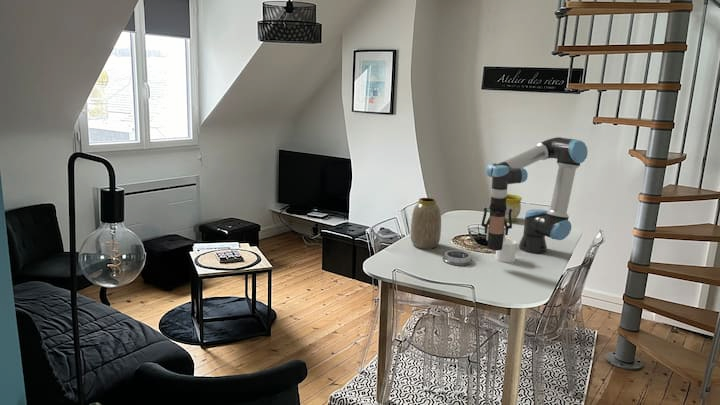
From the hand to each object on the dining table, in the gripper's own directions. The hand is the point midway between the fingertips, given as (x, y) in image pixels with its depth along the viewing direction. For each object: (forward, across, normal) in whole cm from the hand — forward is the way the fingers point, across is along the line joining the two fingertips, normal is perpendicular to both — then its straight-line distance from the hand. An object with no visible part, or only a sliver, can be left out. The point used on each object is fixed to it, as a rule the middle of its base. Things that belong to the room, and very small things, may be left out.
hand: (495, 240), depth 267 cm
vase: (+14, +39, -23) cm, 47 cm away
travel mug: (+4, 0, 0) cm, 4 cm away
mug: (+15, -6, -14) cm, 22 cm away
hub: (+14, +19, -2) cm, 23 cm away
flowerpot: (+16, -7, -100) cm, 102 cm away
